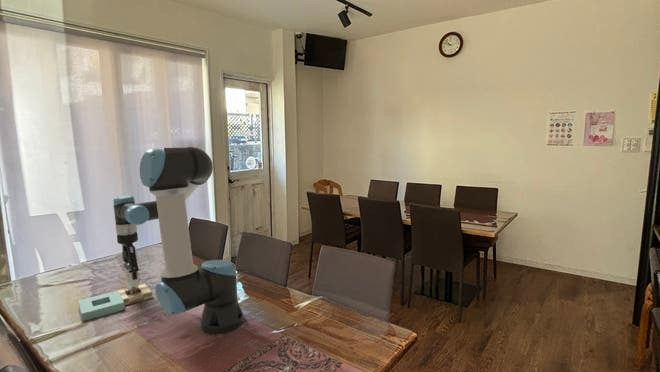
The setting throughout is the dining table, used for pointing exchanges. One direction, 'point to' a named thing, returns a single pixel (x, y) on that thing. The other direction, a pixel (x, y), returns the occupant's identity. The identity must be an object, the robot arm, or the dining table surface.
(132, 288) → the pin
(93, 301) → the dock
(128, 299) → the mount
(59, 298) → the dining table surface
